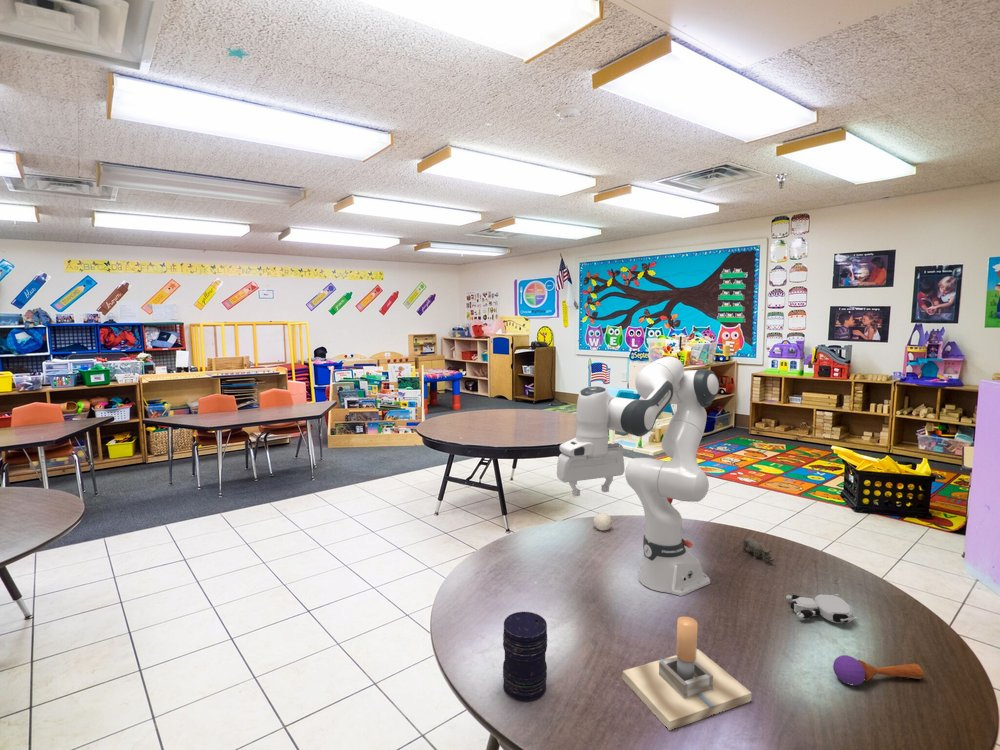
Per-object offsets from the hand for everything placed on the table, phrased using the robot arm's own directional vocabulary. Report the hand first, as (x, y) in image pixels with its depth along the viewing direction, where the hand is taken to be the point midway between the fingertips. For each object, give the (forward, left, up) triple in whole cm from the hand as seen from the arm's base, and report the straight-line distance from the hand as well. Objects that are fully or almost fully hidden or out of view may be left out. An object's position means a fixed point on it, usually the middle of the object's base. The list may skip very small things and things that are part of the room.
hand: (590, 493), depth 142 cm
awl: (-3, +36, -32) cm, 48 cm away
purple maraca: (-47, +49, -35) cm, 76 cm away
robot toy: (-59, +26, -34) cm, 73 cm away
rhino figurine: (-72, -6, -34) cm, 80 cm away
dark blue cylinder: (+30, +22, -34) cm, 51 cm away
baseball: (-35, -47, -34) cm, 68 cm away
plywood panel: (-3, +36, -34) cm, 50 cm away
